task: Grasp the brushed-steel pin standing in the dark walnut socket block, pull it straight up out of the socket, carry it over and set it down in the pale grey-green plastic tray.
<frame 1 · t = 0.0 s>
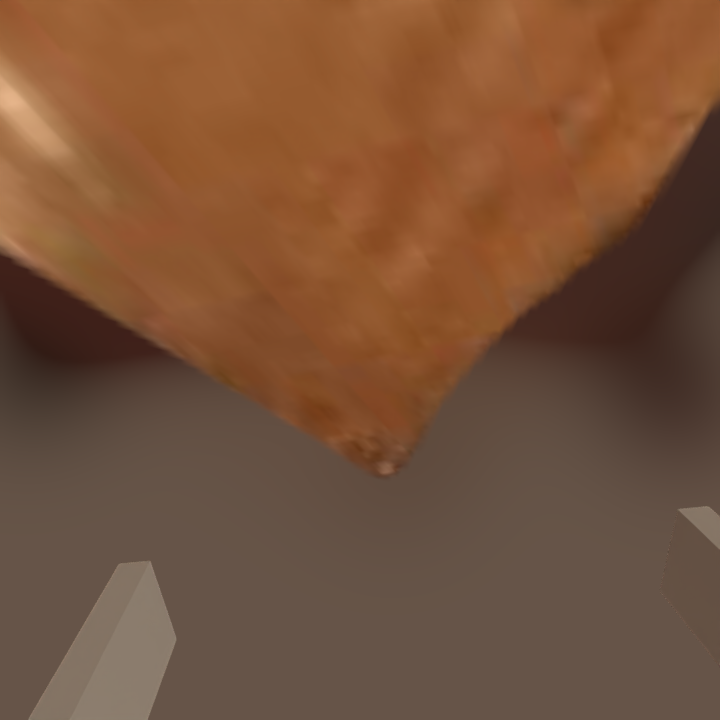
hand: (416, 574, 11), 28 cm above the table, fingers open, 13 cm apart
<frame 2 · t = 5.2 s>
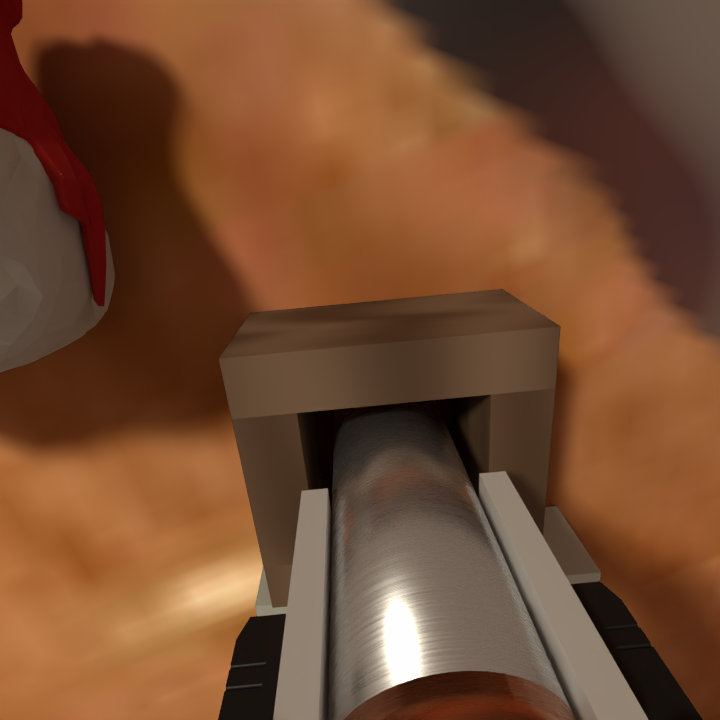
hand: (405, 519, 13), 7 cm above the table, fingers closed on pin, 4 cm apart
tray: (418, 609, 24), on the table
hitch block: (385, 412, 19), on the table
candle: (4, 196, 16), on the table
pin: (407, 526, 13), in the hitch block, touching gripper
when the fingers open (9 cm above the table, at t = 12.6 s): pin drops 1 cm, resting on tray.
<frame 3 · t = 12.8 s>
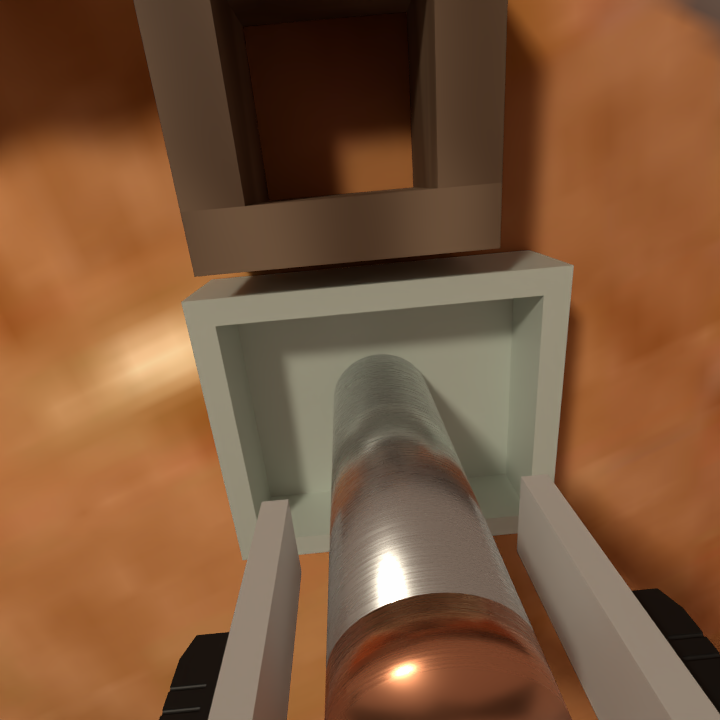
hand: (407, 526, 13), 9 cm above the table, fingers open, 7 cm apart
tray: (380, 388, 22), on the table
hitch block: (333, 112, 17), on the table
pin: (399, 495, 14), in the tray, point 8 cm above the table
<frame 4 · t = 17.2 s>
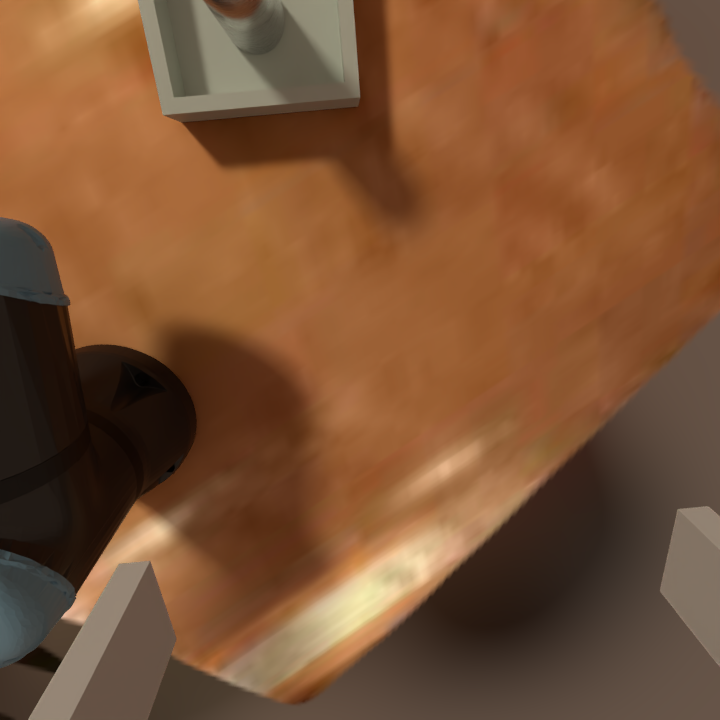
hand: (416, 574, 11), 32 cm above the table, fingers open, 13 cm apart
tray: (257, 23, 33), on the table
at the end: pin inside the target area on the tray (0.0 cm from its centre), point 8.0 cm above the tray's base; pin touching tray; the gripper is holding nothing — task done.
